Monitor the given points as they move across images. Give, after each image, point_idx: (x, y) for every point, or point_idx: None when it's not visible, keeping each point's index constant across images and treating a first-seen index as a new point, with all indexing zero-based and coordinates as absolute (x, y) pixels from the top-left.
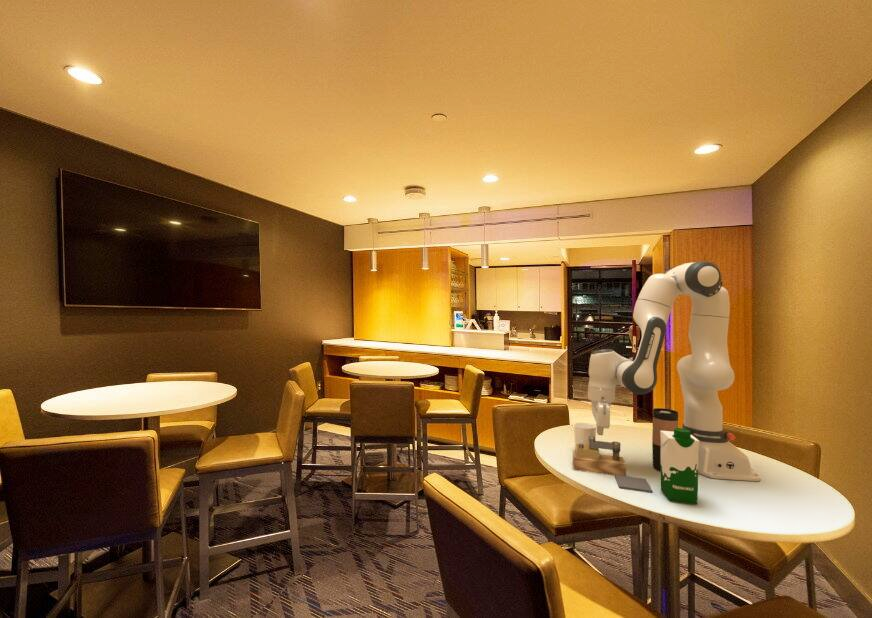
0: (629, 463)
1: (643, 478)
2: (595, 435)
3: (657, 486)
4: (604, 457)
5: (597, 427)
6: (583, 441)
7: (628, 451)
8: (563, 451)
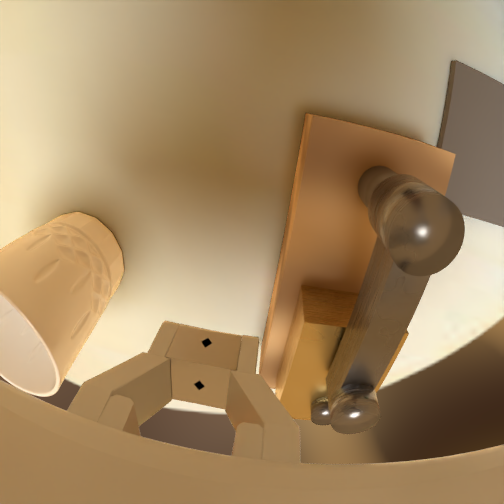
0: (200, 42)
1: (456, 70)
2: (30, 254)
3: (496, 47)
4: (347, 254)
5: (166, 399)
6: (97, 313)
7: (24, 33)
8: (129, 345)
